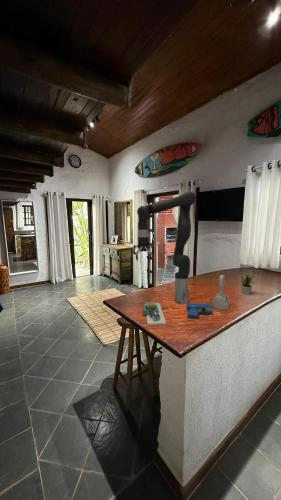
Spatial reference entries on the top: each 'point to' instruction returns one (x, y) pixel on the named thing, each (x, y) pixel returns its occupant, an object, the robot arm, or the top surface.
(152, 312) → the shaft
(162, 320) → the base plate
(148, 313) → the cradle
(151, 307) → the yellow cube
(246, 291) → the house plant
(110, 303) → the top surface
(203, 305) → the stun gun
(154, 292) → the top surface
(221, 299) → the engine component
